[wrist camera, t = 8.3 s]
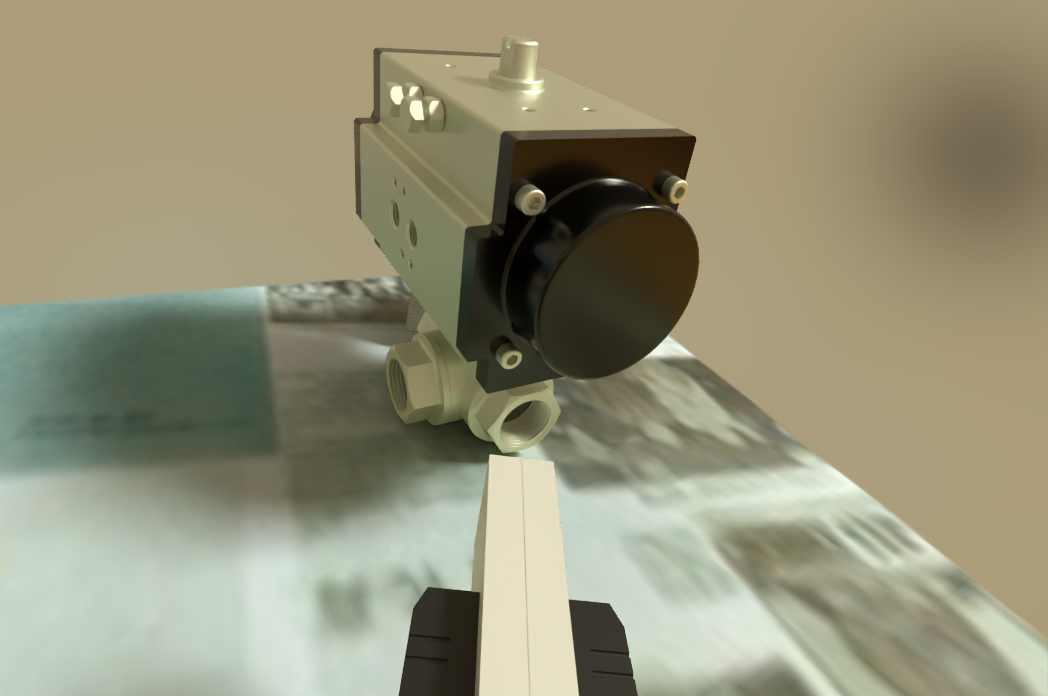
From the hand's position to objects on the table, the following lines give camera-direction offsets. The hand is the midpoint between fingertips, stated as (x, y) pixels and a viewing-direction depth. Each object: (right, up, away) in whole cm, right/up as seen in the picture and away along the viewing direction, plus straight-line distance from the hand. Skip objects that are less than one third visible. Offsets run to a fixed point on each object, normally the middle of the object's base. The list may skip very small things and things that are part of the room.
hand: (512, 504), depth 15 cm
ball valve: (-3, +1, +18) cm, 19 cm away
